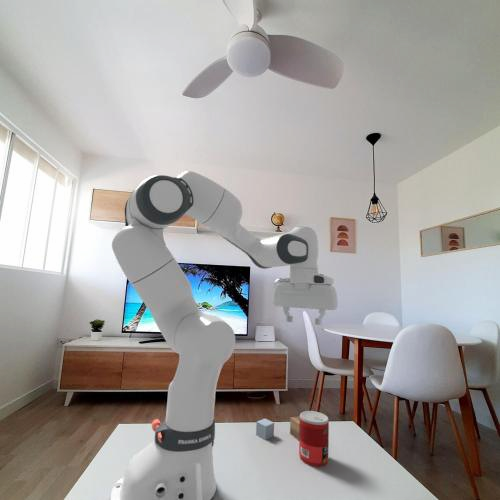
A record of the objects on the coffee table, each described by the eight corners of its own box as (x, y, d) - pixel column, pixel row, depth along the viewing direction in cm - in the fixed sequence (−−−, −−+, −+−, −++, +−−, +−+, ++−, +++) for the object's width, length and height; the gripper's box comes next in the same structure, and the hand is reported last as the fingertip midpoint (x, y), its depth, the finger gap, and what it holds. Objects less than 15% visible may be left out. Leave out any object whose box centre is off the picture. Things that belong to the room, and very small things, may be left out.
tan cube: (298, 441, 88) (299, 424, 88) (290, 433, 92) (290, 417, 93) (311, 438, 90) (312, 421, 90) (302, 431, 94) (303, 415, 95)
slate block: (265, 440, 87) (265, 426, 88) (256, 435, 90) (256, 421, 91) (273, 436, 90) (274, 422, 91) (264, 431, 93) (264, 418, 93)
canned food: (329, 469, 74) (329, 424, 76) (298, 464, 76) (299, 419, 77) (327, 453, 81) (327, 412, 83) (299, 449, 83) (300, 409, 85)
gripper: (270, 277, 92) (268, 321, 90) (333, 278, 81) (333, 327, 79) (278, 278, 97) (277, 319, 95) (338, 279, 87) (339, 325, 85)
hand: (303, 323), depth 87 cm, fingers open, 8 cm apart
